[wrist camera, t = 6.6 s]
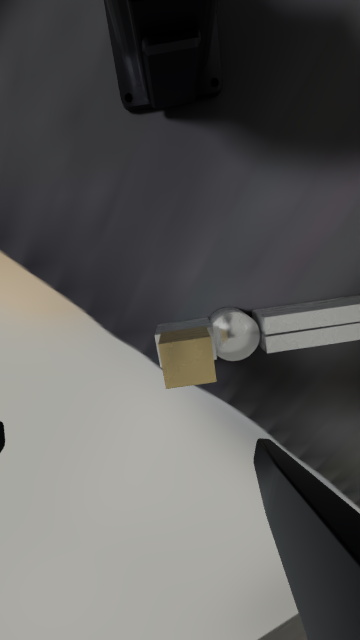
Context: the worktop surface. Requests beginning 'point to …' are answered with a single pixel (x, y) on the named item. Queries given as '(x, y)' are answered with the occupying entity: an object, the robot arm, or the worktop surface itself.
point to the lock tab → (187, 357)
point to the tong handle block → (222, 333)
